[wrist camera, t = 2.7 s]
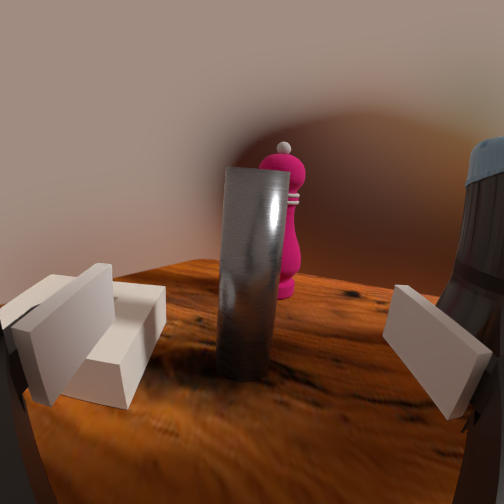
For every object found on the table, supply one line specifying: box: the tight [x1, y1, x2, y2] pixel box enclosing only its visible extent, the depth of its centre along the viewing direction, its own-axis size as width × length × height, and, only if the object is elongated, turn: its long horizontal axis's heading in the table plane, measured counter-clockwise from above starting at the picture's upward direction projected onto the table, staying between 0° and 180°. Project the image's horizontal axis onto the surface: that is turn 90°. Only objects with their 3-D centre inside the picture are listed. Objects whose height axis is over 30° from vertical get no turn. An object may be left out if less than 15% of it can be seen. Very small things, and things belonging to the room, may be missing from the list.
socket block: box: [0, 274, 166, 410], centre depth 24 cm, size 14×14×4 cm
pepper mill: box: [259, 142, 305, 300], centre depth 41 cm, size 7×7×20 cm
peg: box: [216, 167, 290, 382], centre depth 24 cm, size 4×4×16 cm
